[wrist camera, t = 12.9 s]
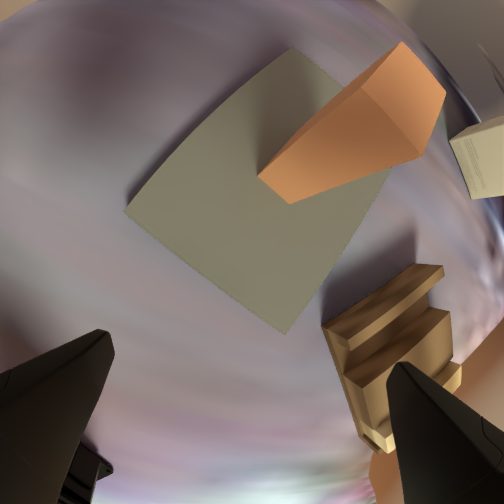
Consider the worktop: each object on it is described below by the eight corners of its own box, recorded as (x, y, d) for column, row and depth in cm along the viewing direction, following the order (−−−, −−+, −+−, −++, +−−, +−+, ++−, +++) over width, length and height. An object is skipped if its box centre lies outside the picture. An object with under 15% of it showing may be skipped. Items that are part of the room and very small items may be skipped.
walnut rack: (359, 437, 23) (378, 455, 19) (321, 326, 21) (347, 340, 17) (431, 376, 26) (453, 386, 22) (413, 263, 24) (442, 265, 20)
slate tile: (277, 329, 20) (284, 335, 19) (127, 214, 18) (123, 211, 16) (391, 153, 23) (401, 149, 22) (286, 55, 20) (292, 46, 19)
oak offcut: (407, 398, 24) (433, 413, 19) (405, 381, 23) (433, 396, 19) (434, 372, 25) (460, 383, 20) (433, 354, 24) (461, 365, 20)
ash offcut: (364, 433, 22) (388, 453, 18) (359, 417, 22) (385, 438, 17) (398, 406, 23) (424, 422, 19) (395, 389, 23) (424, 405, 19)
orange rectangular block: (289, 204, 19) (421, 156, 7) (257, 176, 18) (360, 87, 7) (325, 157, 20) (446, 92, 8) (296, 131, 19) (401, 41, 7)
